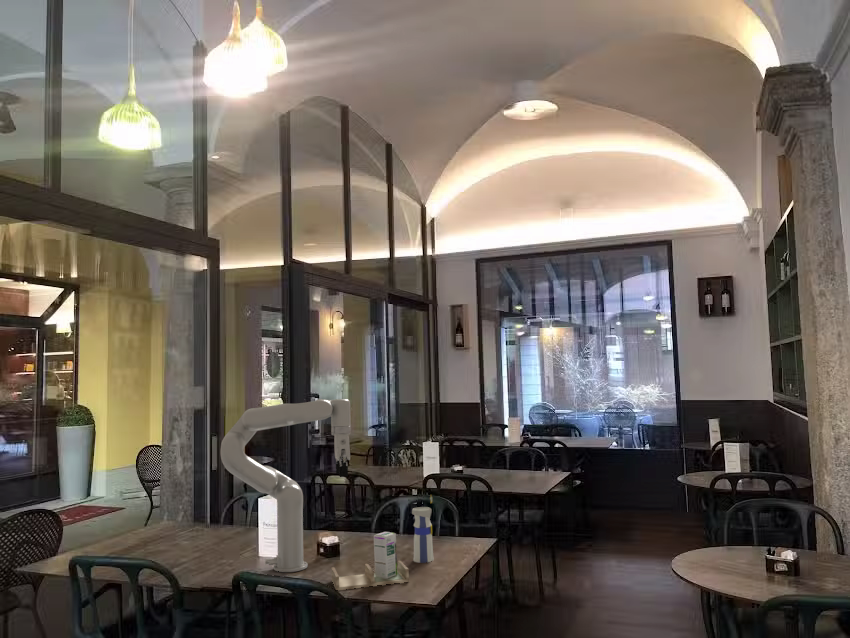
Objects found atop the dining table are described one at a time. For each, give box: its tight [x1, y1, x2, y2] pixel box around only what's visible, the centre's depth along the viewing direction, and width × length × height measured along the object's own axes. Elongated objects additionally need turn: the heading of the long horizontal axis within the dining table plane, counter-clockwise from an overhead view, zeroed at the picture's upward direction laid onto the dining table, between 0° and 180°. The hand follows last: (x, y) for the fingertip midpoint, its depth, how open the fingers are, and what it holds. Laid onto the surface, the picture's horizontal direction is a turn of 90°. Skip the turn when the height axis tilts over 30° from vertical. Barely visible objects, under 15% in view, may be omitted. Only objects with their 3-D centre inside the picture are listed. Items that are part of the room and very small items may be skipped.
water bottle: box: [411, 495, 434, 564], centre depth 261 cm, size 8×9×25 cm
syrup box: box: [373, 531, 398, 579], centre depth 236 cm, size 6×6×14 cm
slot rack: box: [330, 559, 410, 591], centre depth 234 cm, size 25×12×4 cm, turn 106°
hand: (341, 475), depth 262 cm, fingers open, 9 cm apart
